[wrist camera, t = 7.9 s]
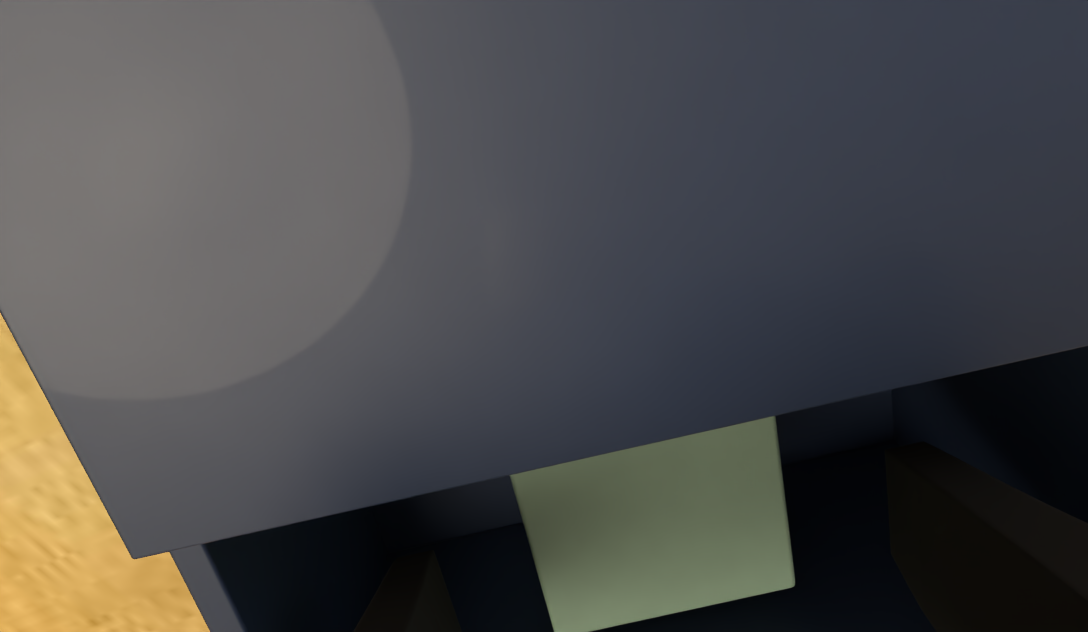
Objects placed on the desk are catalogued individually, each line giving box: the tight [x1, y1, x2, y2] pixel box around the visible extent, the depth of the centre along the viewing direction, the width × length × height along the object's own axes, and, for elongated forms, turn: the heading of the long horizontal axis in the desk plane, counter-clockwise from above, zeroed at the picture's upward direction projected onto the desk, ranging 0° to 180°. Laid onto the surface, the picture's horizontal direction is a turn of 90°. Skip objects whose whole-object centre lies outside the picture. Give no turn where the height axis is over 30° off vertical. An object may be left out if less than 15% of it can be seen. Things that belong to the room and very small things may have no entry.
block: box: [510, 416, 795, 632], centre depth 15 cm, size 4×4×4 cm
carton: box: [0, 0, 1088, 632], centre depth 13 cm, size 13×13×8 cm
